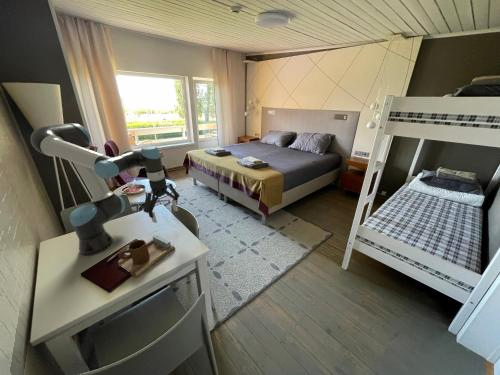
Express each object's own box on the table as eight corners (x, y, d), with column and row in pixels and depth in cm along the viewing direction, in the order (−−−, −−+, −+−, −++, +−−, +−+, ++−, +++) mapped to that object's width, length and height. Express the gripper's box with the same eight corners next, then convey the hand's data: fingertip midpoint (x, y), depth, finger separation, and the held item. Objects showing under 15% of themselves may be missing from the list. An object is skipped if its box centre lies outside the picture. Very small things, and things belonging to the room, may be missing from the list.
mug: (124, 272, 95) (118, 257, 91) (121, 263, 100) (116, 248, 96) (151, 260, 101) (147, 245, 97) (147, 252, 107) (143, 237, 103)
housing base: (118, 265, 100) (116, 261, 99) (157, 240, 117) (156, 236, 116) (136, 278, 93) (134, 274, 92) (175, 249, 110) (174, 245, 109)
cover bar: (154, 242, 114) (152, 236, 112) (157, 240, 115) (155, 234, 113) (168, 249, 108) (166, 243, 106) (171, 247, 109) (170, 241, 108)
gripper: (137, 189, 89) (149, 230, 98) (181, 172, 108) (188, 207, 117) (127, 186, 93) (139, 225, 102) (172, 169, 112) (179, 204, 120)
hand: (165, 215), depth 109 cm, fingers open, 12 cm apart
